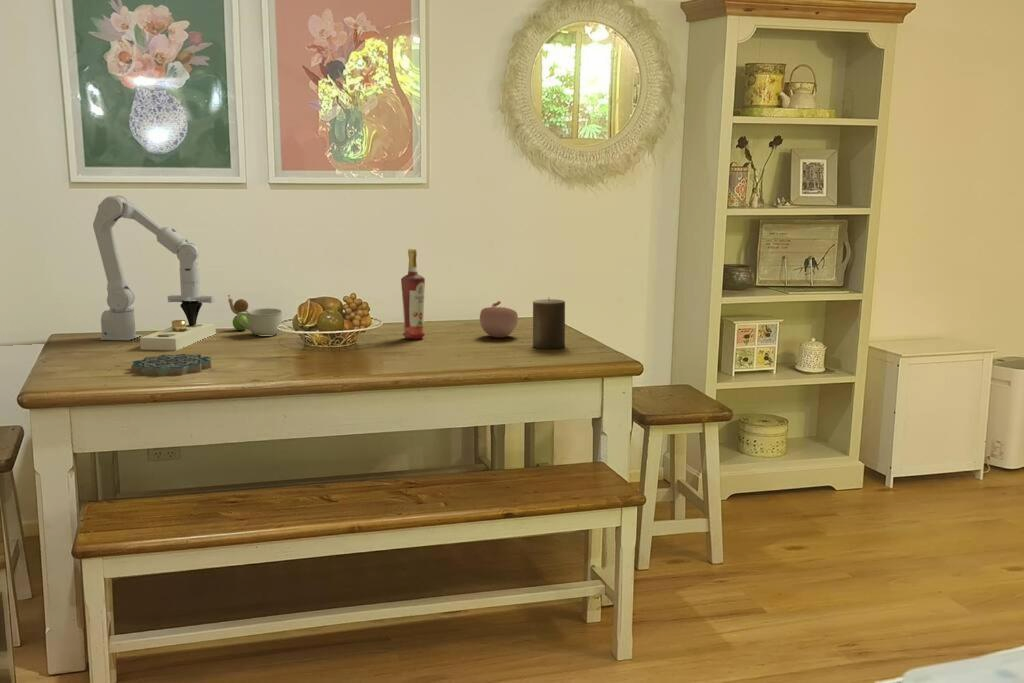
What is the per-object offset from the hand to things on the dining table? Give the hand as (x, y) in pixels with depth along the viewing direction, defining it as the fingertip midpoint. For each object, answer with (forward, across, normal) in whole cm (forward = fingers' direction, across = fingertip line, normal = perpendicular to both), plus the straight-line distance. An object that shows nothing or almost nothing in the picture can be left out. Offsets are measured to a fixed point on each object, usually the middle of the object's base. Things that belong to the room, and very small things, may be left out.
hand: (192, 325), depth 303 cm
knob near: (+3, 0, -18) cm, 18 cm away
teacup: (+4, +20, +6) cm, 21 cm away
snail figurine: (+4, +10, +13) cm, 17 cm away
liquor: (+4, +70, +6) cm, 70 cm away
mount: (+4, 0, -9) cm, 10 cm away
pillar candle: (+4, +113, -1) cm, 113 cm away
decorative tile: (+4, +16, -46) cm, 49 cm away
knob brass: (0, 0, -9) cm, 9 cm away
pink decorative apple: (+4, +96, +12) cm, 97 cm away
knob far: (+3, 0, 0) cm, 3 cm away
